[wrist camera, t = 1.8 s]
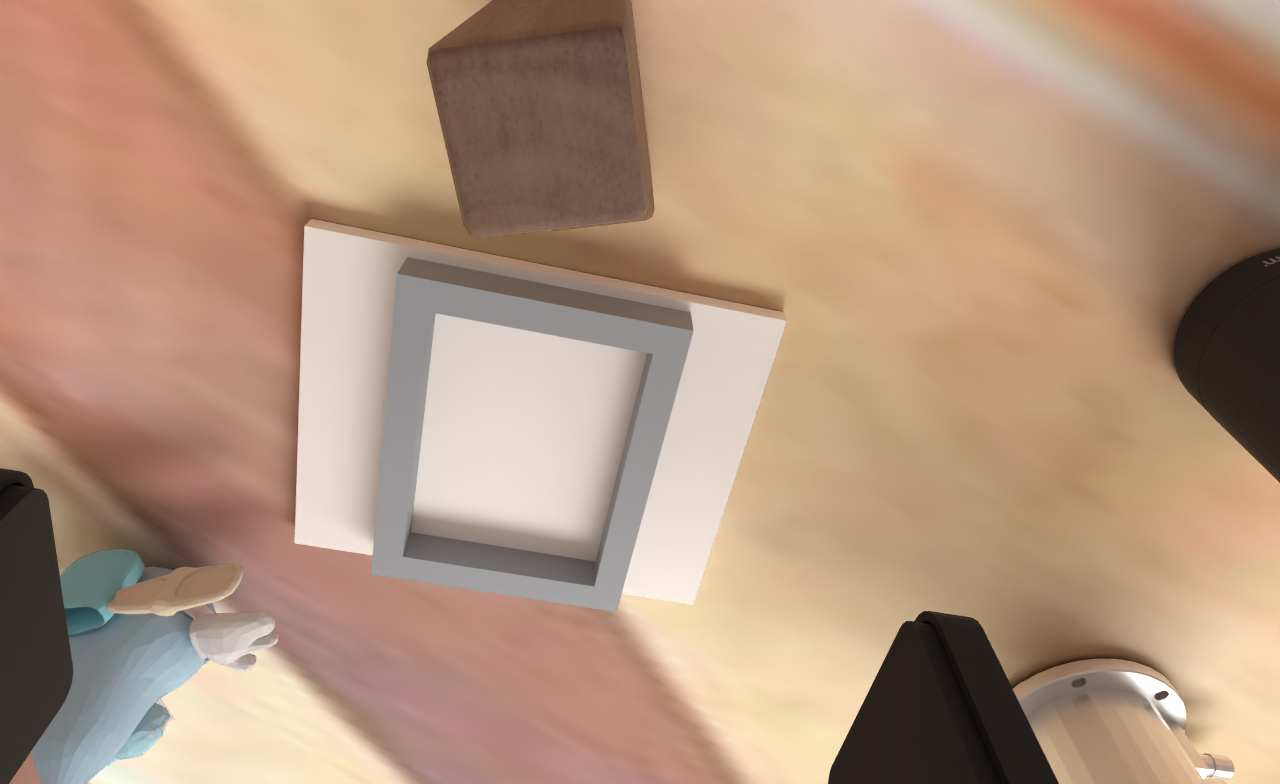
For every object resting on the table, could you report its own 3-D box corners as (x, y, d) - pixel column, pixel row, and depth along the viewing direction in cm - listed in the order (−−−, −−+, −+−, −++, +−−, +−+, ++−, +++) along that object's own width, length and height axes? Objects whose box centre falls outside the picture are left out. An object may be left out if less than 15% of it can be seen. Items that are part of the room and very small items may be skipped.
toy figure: (84, 679, 53) (-94, 935, 40) (-15, 547, 48) (-255, 790, 35) (345, 635, 51) (250, 886, 38) (273, 494, 46) (134, 728, 33)
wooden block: (652, 189, 38) (670, 388, 23) (551, 201, 39) (501, 407, 23) (626, -36, 34) (627, 18, 18) (513, -21, 34) (418, 46, 19)
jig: (783, 312, 41) (794, 339, 39) (692, 592, 50) (695, 630, 47) (311, 218, 39) (288, 241, 36) (300, 531, 47) (281, 568, 45)
